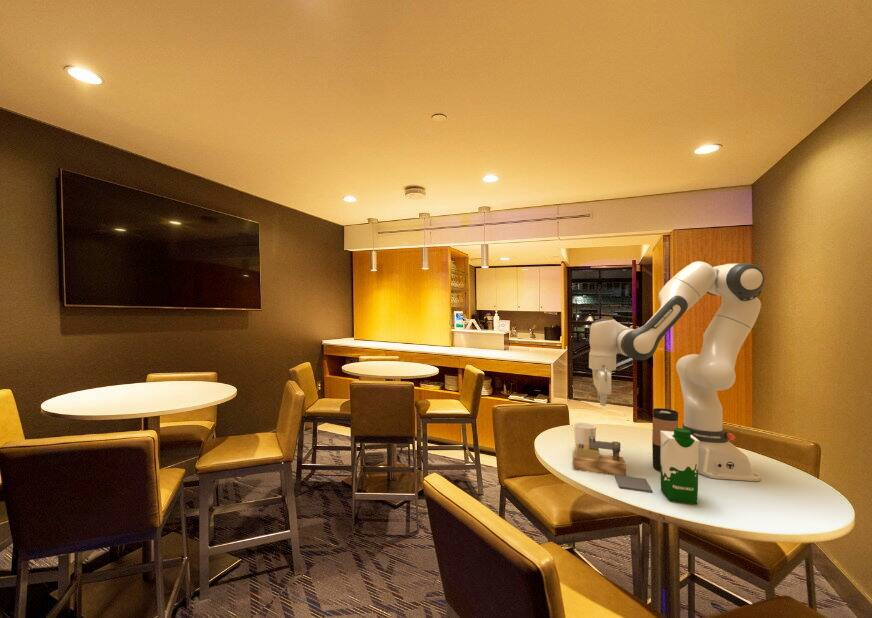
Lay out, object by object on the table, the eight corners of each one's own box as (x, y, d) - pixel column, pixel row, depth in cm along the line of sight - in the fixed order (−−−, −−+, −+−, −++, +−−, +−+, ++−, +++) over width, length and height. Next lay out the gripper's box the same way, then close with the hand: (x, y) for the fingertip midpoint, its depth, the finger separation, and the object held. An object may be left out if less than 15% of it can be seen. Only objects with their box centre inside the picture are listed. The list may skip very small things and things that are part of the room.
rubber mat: (645, 480, 121) (645, 478, 121) (652, 492, 113) (652, 490, 113) (614, 476, 124) (614, 474, 124) (619, 488, 115) (619, 486, 115)
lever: (619, 449, 129) (619, 439, 129) (621, 452, 126) (621, 441, 126) (588, 446, 132) (588, 436, 132) (589, 448, 129) (589, 438, 129)
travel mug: (676, 467, 132) (676, 409, 133) (679, 475, 125) (680, 414, 126) (650, 463, 136) (651, 407, 136) (653, 471, 129) (653, 411, 129)
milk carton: (667, 502, 107) (668, 431, 107) (656, 488, 116) (657, 422, 116) (702, 507, 105) (703, 434, 105) (688, 492, 114) (689, 424, 114)
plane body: (622, 468, 130) (622, 448, 131) (625, 476, 124) (626, 455, 124) (572, 462, 135) (572, 443, 135) (573, 469, 128) (574, 449, 129)
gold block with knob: (597, 454, 132) (597, 443, 132) (599, 459, 127) (599, 448, 127) (576, 452, 134) (576, 441, 134) (576, 457, 129) (577, 445, 129)
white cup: (599, 455, 143) (599, 428, 143) (577, 454, 143) (578, 428, 143) (591, 448, 150) (591, 422, 151) (570, 447, 151) (571, 422, 151)
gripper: (616, 368, 124) (616, 410, 124) (608, 361, 144) (607, 398, 144) (595, 367, 126) (595, 408, 126) (590, 360, 146) (589, 396, 146)
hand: (601, 403), depth 135 cm, fingers open, 6 cm apart
